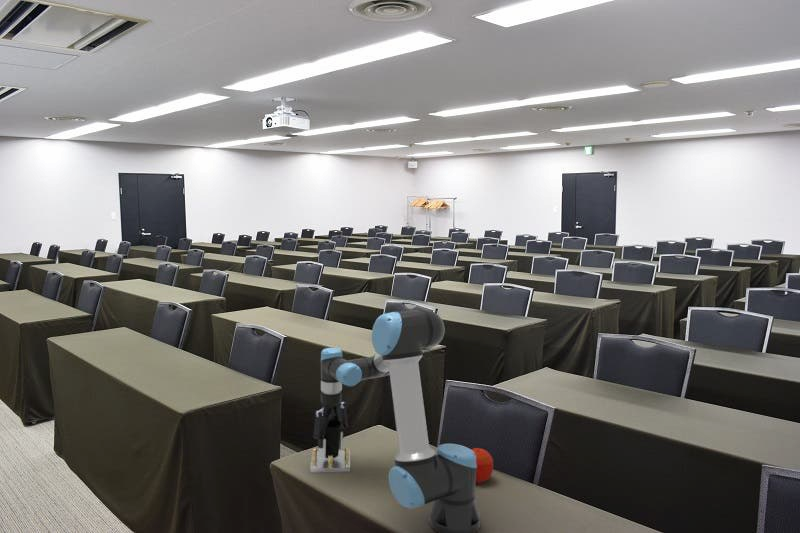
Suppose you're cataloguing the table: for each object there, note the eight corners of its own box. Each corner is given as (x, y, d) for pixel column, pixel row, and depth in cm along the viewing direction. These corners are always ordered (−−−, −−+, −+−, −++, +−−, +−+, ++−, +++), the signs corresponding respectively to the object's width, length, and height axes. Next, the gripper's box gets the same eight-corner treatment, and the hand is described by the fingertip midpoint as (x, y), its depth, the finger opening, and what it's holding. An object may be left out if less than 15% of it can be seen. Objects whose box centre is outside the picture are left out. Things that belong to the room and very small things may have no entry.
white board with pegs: (350, 471, 198) (350, 456, 198) (310, 472, 197) (310, 457, 196) (350, 454, 212) (350, 440, 212) (312, 455, 211) (312, 441, 210)
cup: (316, 457, 202) (316, 425, 200) (325, 449, 209) (325, 418, 208) (336, 461, 200) (336, 428, 198) (344, 452, 207) (344, 420, 206)
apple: (497, 478, 196) (498, 446, 195) (484, 490, 187) (486, 456, 186) (470, 470, 201) (472, 439, 200) (457, 481, 193) (458, 449, 192)
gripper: (344, 382, 212) (343, 440, 214) (302, 395, 196) (302, 458, 199) (358, 386, 207) (357, 446, 210) (316, 400, 191) (316, 464, 194)
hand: (330, 451), depth 204 cm, fingers closed on cup, 8 cm apart
